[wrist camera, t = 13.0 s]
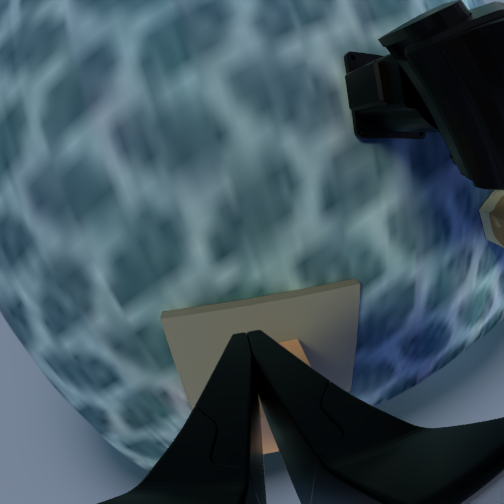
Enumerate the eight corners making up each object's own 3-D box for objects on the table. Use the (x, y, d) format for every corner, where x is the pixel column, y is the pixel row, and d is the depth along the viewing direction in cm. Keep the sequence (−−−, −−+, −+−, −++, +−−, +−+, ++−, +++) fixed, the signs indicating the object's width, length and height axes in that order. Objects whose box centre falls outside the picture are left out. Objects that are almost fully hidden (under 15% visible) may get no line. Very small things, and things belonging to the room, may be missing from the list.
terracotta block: (297, 338, 22) (327, 401, 16) (299, 378, 24) (324, 440, 17) (240, 349, 22) (253, 418, 15) (247, 389, 23) (261, 454, 17)
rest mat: (354, 278, 22) (360, 283, 21) (346, 384, 26) (350, 391, 25) (162, 311, 21) (160, 318, 20) (197, 414, 25) (197, 422, 24)
